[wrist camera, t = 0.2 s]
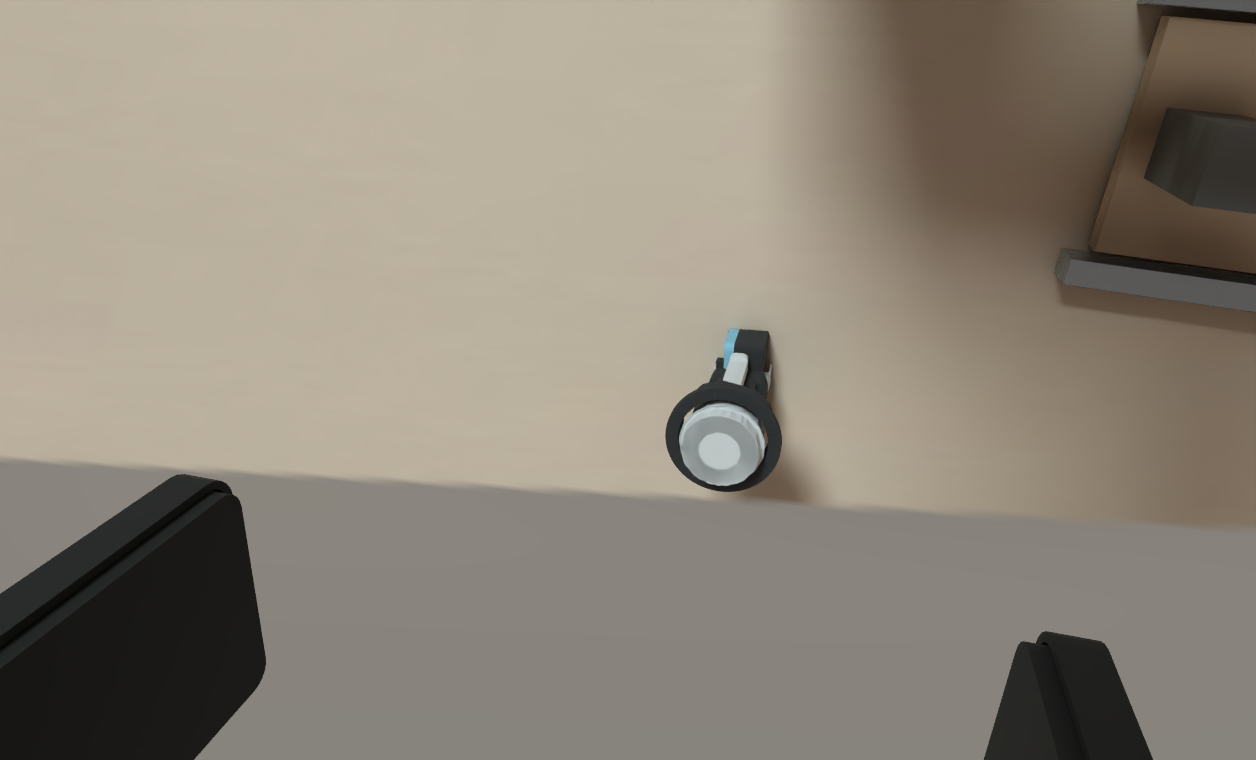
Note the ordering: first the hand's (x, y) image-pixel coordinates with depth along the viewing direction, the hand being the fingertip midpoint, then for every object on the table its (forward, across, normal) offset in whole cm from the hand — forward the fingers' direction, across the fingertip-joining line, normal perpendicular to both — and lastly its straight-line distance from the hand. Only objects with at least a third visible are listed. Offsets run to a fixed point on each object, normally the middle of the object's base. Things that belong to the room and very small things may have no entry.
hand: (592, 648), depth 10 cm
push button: (+36, +1, +12) cm, 38 cm away
